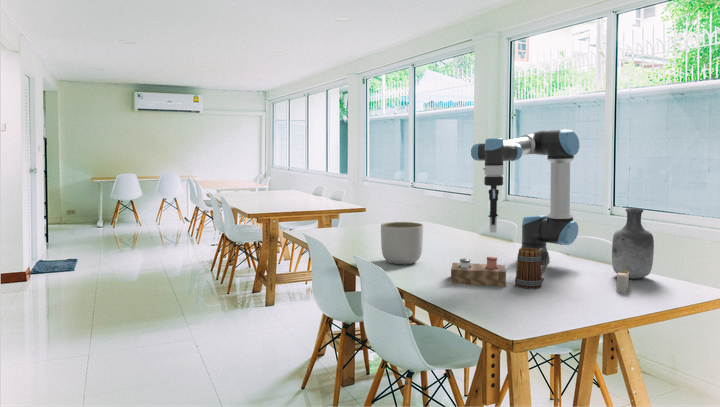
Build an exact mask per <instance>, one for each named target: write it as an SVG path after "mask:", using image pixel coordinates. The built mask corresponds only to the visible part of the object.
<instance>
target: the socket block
mask: <svg viewBox="0 0 720 407" xmlns="http://www.w3.org/2000/svg"><path fill="white" fill-rule="evenodd" d="M450 284H453V285H466V286H467V285H471V286H486V287H487V286H491V287H506V286H507V270H506V266H505V264H497V269H487V263H473V262H470V268H460V262H452V264H451V268H450Z"/></svg>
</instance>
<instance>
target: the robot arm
mask: <svg viewBox="0 0 720 407" xmlns="http://www.w3.org/2000/svg"><path fill="white" fill-rule="evenodd" d="M484 142H485V143H480V142H479V143H475V144H473V145H472V147H471V149H470V156H471V158H472V159H473V161H480V162H481V161H484V167H483V168H482V169H483V171H484V175H485V176H484V178H483V179H484V182H483V183H484V186H488V187H489V186H490V189H488V196H489V197H488V199H489V215H488V218H489V233H490V234H491V233H494V234H495V233H497V226H498V225H497V217H498V216H499V214H497V213H498V212H497V211H498V208H497V207H498V201H499V193H500V192H499V191H500V190H499V189H497V187H498V186H499V187H500V186H503V185H504V177H503V175H504V162H514V161H515V162H516V161H519V160H520V159H521V158H522V156H523V155H527V156H528V155H542V156H547V160H548V161H549V163H550V212H549V213H548V215H546V214H540V215H538V214H537V215H528V216H527V215H526V216H525V217H523V218H522V223H521V228H522V229H521V247H520V248H529V249H530V248H534V249H540V248H543V249H546V250H547V251H548V248H547V243H548V244H549V243H550V244H555V245H559V246H570V245H572V244H573V243H574V242H575V241H576V239H577V237H578V234H579V224H578V222H576V221H575V220H574V216H573V215H572V214H571V212H570V211H571V162H572V161H573V160H574V159H575V156H576V155H578V152H579V149H580V140H579V137H578V135H577V133H576V132H575V131H573V130H570V129H553V130H552V129H551V130H539V131H535V132H532V133H527V134H523V135H521V136H520V137H516V138H510V139H505V140H504V138H501V137H500V138H499V137H498V138H497V137H493V138H486V139H485V141H484ZM540 255H541V265H543V263H544V252H543V251H542V252H541V254H540ZM549 263H550V257H549V260H548V264H549Z"/></svg>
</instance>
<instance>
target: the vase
mask: <svg viewBox="0 0 720 407" xmlns="http://www.w3.org/2000/svg"><path fill="white" fill-rule="evenodd" d="M625 212H626V223H625V224H624V226H623V227H622V228H619V229H617V230H616V231H614V233H613V236H612V243H611V265H612V269H613V271H614V273H616V275H617V274H618V273H622V269H623V270H628V272H629V279H632V280H633V279H642V278H645V277H648V276H649V275H650V274H651V271H652V268H653V263H654V262H653V261H654V253H655V252H654V251H655V250H654V249H655V246H654V245H655V244H654V243H655V241H654V236H653V233H652V232H650V231H648V230H646V229H645V228H644V226H643V225H642V213H643V212H644V209H643V208H638V207H637V208H635V207H633V208H631V207H628V208H625Z"/></svg>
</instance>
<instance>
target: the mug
mask: <svg viewBox="0 0 720 407" xmlns="http://www.w3.org/2000/svg"><path fill="white" fill-rule="evenodd" d="M542 251H543V252H544V263H543V264H541V255H540V254H541V252H542ZM516 258H517V261H516V262H517V263H516V272H515V273H516V274H515V278H514V284H515V285H516V286H517V287H518V288H522V289H529V290H530V289H531V290H535V289H540V288H541V287H542V285H543V282H544V281H545V277H543V274H544V272H545V271H546V269H547V267H548V266H549V263H548V260H549V258H550V253H549V250H548V249H547V250H546V249H543V248H540V249H534V248H530V249H529V248H521V247H520V248H519V249H518V253H517V257H516ZM541 265H542V266H541Z"/></svg>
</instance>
